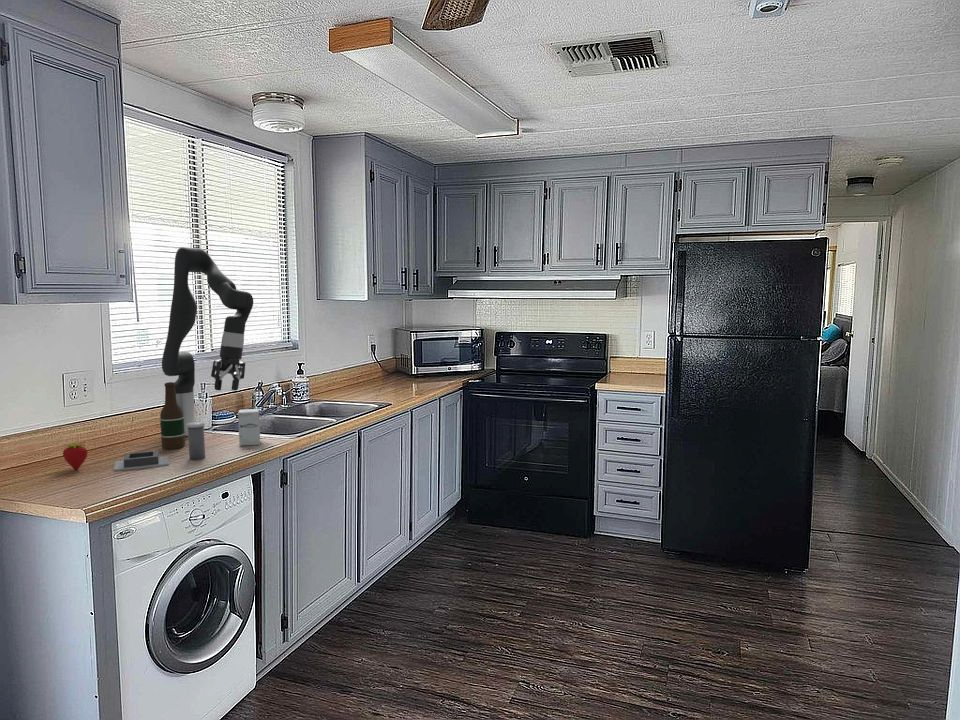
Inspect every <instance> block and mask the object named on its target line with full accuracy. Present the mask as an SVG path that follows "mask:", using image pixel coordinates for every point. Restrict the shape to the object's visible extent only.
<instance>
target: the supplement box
mask: <svg viewBox="0 0 960 720" xmlns="http://www.w3.org/2000/svg"><path fill="white" fill-rule="evenodd" d="M237 417H238V418H237V419H238V445H239V447H241V446H258V445H260V443H261V426H260V425H261V423H260V422H261V421H260V409H259V408H253V409H252V408H247V409H239V410H238V412H237Z"/></svg>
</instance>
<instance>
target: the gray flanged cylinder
mask: <svg viewBox="0 0 960 720" xmlns="http://www.w3.org/2000/svg"><path fill="white" fill-rule="evenodd" d="M205 425H206V423H205V422H203V421H195V422H193V423H188V424H186V427H188V436H187V439H188V457H189V458H188V459H189V460H190V461H199V460H205V458H206V446H205Z"/></svg>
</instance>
